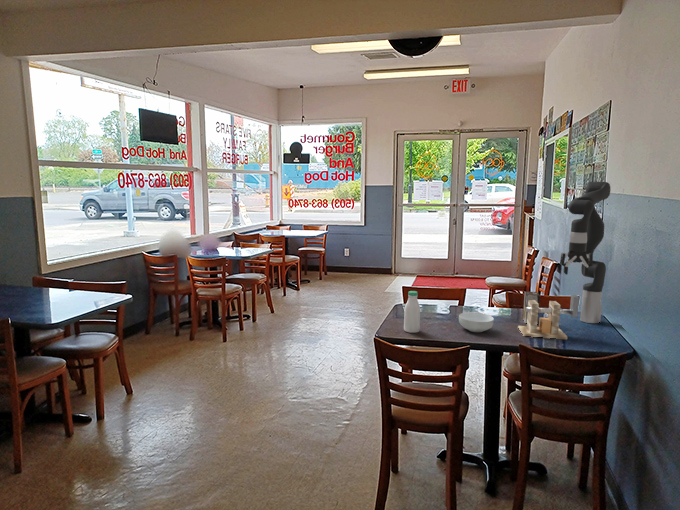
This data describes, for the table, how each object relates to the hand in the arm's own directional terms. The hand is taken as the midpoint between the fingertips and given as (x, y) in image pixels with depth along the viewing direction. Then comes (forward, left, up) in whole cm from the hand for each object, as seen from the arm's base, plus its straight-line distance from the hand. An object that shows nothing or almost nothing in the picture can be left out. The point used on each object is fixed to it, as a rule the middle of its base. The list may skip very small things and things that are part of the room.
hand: (575, 274), depth 238 cm
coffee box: (+15, -19, -31) cm, 39 cm away
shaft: (+10, +1, -20) cm, 23 cm away
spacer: (+12, +1, -29) cm, 31 cm away
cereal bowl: (+46, +1, -31) cm, 55 cm away
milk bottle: (+78, +9, -31) cm, 84 cm away
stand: (+14, +1, -30) cm, 33 cm away
